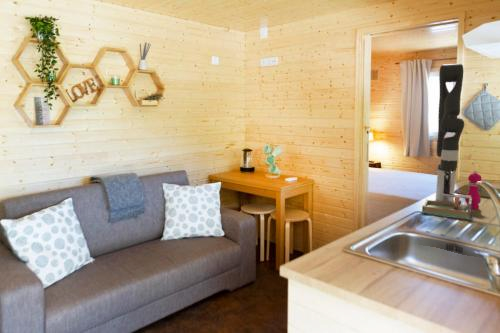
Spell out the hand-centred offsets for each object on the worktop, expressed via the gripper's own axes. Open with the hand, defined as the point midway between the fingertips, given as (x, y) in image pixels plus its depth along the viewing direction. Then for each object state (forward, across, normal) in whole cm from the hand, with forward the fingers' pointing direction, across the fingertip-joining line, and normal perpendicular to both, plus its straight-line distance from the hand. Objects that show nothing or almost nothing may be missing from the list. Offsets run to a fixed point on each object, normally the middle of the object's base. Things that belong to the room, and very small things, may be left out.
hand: (446, 193), depth 206 cm
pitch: (+10, 0, +1) cm, 10 cm away
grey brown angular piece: (+8, 0, +5) cm, 9 cm away
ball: (+6, 0, +8) cm, 10 cm away
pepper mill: (+10, -16, +12) cm, 22 cm away
